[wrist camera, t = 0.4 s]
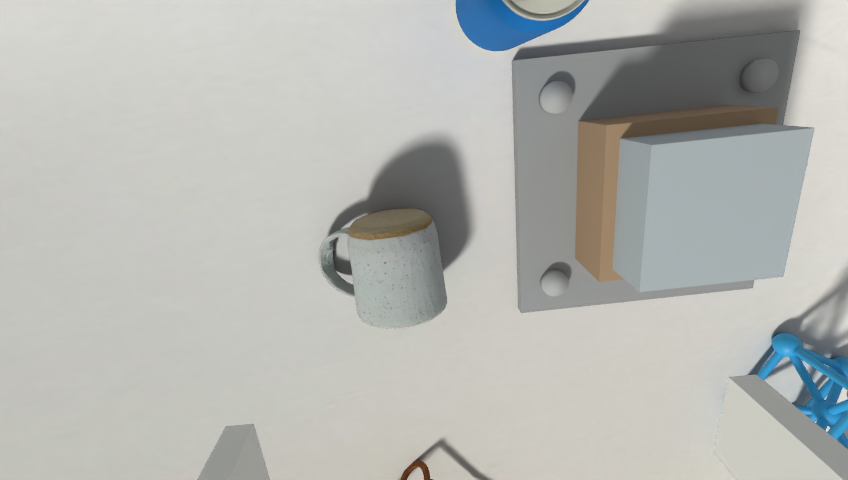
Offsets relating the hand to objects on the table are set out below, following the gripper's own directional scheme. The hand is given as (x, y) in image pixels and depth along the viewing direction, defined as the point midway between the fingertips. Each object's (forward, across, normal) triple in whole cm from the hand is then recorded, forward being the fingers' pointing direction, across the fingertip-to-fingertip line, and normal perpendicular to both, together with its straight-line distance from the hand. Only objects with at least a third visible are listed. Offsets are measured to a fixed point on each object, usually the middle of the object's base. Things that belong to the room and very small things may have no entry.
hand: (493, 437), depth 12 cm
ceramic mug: (+26, -5, -4) cm, 27 cm away
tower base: (+26, +18, 0) cm, 32 cm away
